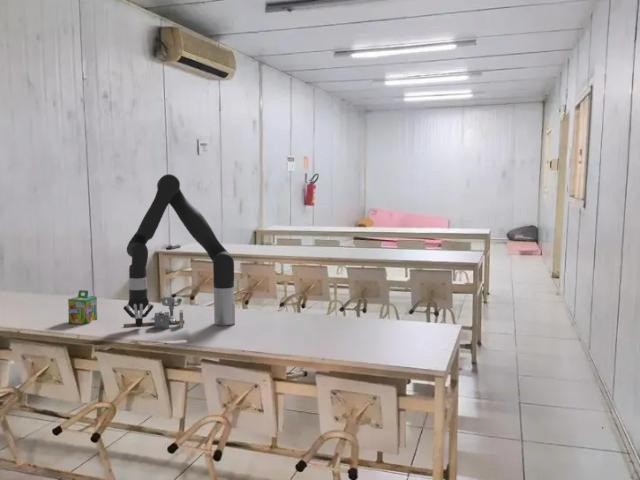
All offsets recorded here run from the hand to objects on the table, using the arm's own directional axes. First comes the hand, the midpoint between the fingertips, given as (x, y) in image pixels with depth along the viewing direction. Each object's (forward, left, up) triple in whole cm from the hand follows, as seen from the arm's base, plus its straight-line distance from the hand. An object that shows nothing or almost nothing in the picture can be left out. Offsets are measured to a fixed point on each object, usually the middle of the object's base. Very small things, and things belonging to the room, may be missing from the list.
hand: (139, 326), depth 231 cm
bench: (-6, 0, -2) cm, 7 cm away
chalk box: (+27, -24, -3) cm, 36 cm away
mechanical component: (-13, -21, -2) cm, 25 cm away
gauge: (-11, +1, -1) cm, 11 cm away
